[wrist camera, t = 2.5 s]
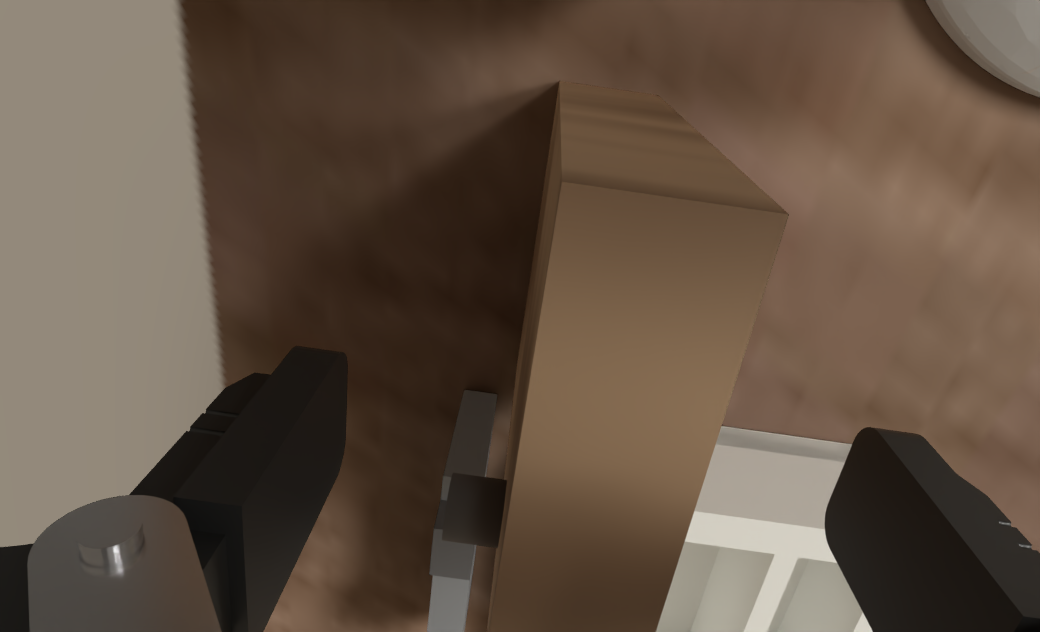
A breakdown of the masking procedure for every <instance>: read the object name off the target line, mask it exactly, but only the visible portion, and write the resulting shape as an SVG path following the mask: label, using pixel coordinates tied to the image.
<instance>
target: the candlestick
mask: <svg viewBox="0 0 1040 632" xmlns="http://www.w3.org/2000/svg"><path fill="white" fill-rule="evenodd" d="M925 1H926V3H927V4H928V6H929V8H930V10H931V12H932V13H933V15H934V16H935V18H936V19H937V21H938V22H939V24H940V25H941V26H942V28H943V29H944V30H945V32H946V33H947V34H948V35H949V37H950V38H951V39H952V40H953V41H954V42H955V43H956V44H957V46H958V47H959V48H960V49H961V50H962V51H963V52H964V53H965V54H966V55H968V56H969V57H970V58H971V59H972V60H973V61H974V62H976V63H977V64H978V65H979V66H981V67H982V68H983V69H985V70H986V71H988V72H989V73H990V74H992V75H993V76H995V77H997V78H998V79H1000V80H1002V81H1003V82H1005V83H1007V84H1009V85H1011V86H1013V87H1015V88H1017V89H1019V90H1022V91H1024V92H1026V93H1029V94H1031V95H1034V96H1037V97H1040V0H925Z"/></svg>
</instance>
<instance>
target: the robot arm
mask: <svg viewBox="0 0 1040 632" xmlns="http://www.w3.org/2000/svg"><path fill="white" fill-rule="evenodd" d="M347 374H348V364H347V357H346V354H345V353H343V352H336V351H329V350H322V349H315V348H307V347H300V346H295V347H294V348H293V349H292V350H291V351H290V352H289V353H288V354H287V356H286V357H285V358H284V359H283V361H282V362H281V363H280V364H279V366H278V367H277V368H276V369H275V371H274V372H273V373H272V374H271V375H268V374H261V373H253V374H251V375H249V376H247V377H245V378H243V379H242V380H240V381H238V382H236V383H234V384H232V385H230V386H228V387H226V388H225V389H224V390H223V391H222V392H221V393H220V394H219V395H218V397H217V398H216V399H215V400H214V401H213V402H212V403H211V404H210V405H209V407H208V408H207V409H206V413H205V414H204V413H202V414H201V415H200V417H199V418H198V419H197V420H196V421H195V422H194V423H193V425H192V426H191V427H190V431H189V432H188V431H186V432H185V433H184V434H183V436H182V437H181V438H180V439H179V440H178V441H177V442H176V444H174V446H173V447H172V448H171V449H170V450H169V451H168V452H167V453H166V454H165V456H164V457H163V458H162V459H161V460H160V461H159V462H158V463H157V465H156V466H155V467H154V468H153V469H152V470H151V471H150V472H149V473H148V474H147V476H146V477H145V478H144V479H143V480H142V481H141V482H140V484H138V486H137V487H136V488H135V489H134V490H133V491H132V492H131V493H130V495H126V496H117V497H113V498H108V499H103V500H100V501H96V502H93V503H90V504H87V505H85V506H82V507H80V508H78V509H76V510H74V511H72V512H70V513H68V514H66V515H65V516H63V517H61V518H60V519H58V520H57V521H55V522H54V523H53V524H51V525H50V526H49V527H48V528H47V529H46V530H45V531H44V532H43V533H42V534H41V535H40V536H39V537H38V538H37V540H36V541H35V543H34V544H28V545H20V546H10V547H0V632H263V631H264V629H265V627H266V625H267V623H268V621H269V618H270V616H271V614H272V612H273V610H274V608H275V606H276V604H277V602H278V600H279V597H280V595H281V593H282V591H283V589H284V587H285V585H286V583H287V581H288V579H289V577H290V574H291V572H292V570H293V568H294V566H295V564H296V562H297V560H298V558H299V556H300V554H301V551H302V549H303V547H304V545H305V543H306V541H307V539H308V537H309V535H310V533H311V531H312V528H313V526H314V524H315V522H316V520H317V518H318V516H319V514H320V512H321V510H322V507H323V505H324V503H325V501H326V499H327V497H328V495H329V493H330V491H331V489H332V487H333V484H334V482H335V480H336V478H337V476H338V473H339V470H340V467H341V463H342V459H343V454H344V448H345V440H346V410H347ZM825 535H826V540H827V543H828V546H829V548H830V550H831V552H832V554H833V556H834V558H835V560H836V562H837V564H838V565H839V567H840V569H841V571H842V573H843V575H844V577H845V579H846V581H847V583H848V585H849V587H850V589H851V590H852V592H853V594H854V596H855V598H856V600H857V602H858V604H859V606H860V608H861V610H862V612H863V613H864V615H865V617H866V619H867V621H868V623H869V625H870V627H871V629H872V631H873V632H1040V553H1039V552H1038V551H1036V550H1032V549H1031V543H1030V542H1029V541H1028V540H1027V539H1026V538H1025V537H1024V536H1023V535H1022V534H1021V532H1020V531H1019V530H1018V529H1017V528H1015V527H1011V522H1010V520H1009V519H1008V518H1007V517H1006V516H1005V515H1004V514H1003V513H1002V512H1001V511H1000V509H999V508H998V507H997V506H996V505H995V504H994V503H993V502H992V501H991V500H990V498H989V497H988V496H987V495H985V494H984V493H983V492H981V491H980V490H978V489H977V488H976V487H974V486H973V485H971V484H970V483H969V482H967V481H966V480H964V479H963V478H962V477H960V476H959V475H957V474H956V473H955V472H954V471H953V470H952V469H951V467H950V466H949V465H948V464H947V463H946V462H945V461H944V459H943V458H942V457H941V456H940V455H939V454H938V453H937V452H936V450H935V449H934V448H933V447H932V446H931V445H930V444H929V443H928V441H927V440H926V439H925V438H924V437H922V436H921V435H919V434H914V433H907V432H900V431H893V430H886V429H878V428H871V427H867V428H864V429H862V430H861V431H860V432H859V433H858V434H857V436H856V437H855V439H854V441H853V444H852V446H851V449H850V451H849V454H848V456H847V458H846V461H845V463H844V466H843V468H842V471H841V473H840V476H839V478H838V480H837V483H836V485H835V488H834V490H833V493H832V495H831V497H830V500H829V502H828V505H827V508H826V513H825Z"/></svg>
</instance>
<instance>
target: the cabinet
mask: <svg viewBox="0 0 1040 632" xmlns="http://www.w3.org/2000/svg"><path fill="white" fill-rule="evenodd" d="M496 401H497V394H492V393H485V392H478V391H471V390H464V393H463V397H462V401H461V405H460V409H459V413H458V417H457V421H456V425H455V429H454V433H453V438H452V442H451V446H450V450H449V454H448V458H447V462H446V466H445V470H444V474H443V482H442V492H441V500H440V505H439V509H438V513H437V517H436V522H435V526H434V532H433V542H432V552H431V562H430V572H429V575H433V579H432V589H431V599H430V608H429V618H428V628H427V632H464V630H465V624H466V617H467V610H468V603H469V596H470V589H471V582H472V574H473V567H474V560H475V553H476V545H471V544H464V543H457V542H450V541H442V532H443V523H444V516H445V509H446V503H447V497H448V491H449V486H450V481H451V477H452V474H453V473H459V474H467V475H474V476H481V477H486V473H487V466H488V459H489V451H490V444H491V437H492V430H493V422H494V415H495V408H496ZM851 446H852V444H846V443H839V442H832V441H825V440H817V439H810V438H803V437H796V436H789V435H782V434H775V433H768V432H761V431H754V430H747V429H740V428H733V427H725V426H721V429H720V432H719V435H718V439H717V442H716V445H715V448H714V451H713V454H712V457H711V460H710V464H709V467H708V470H707V473H706V476H705V479H704V482H703V486H702V489H701V492H700V495H699V498H698V501H697V504H696V507H695V511H694V514H693V517H692V520H691V523H690V526H689V529H688V533H687V536H686V539H685V542H684V545H683V548H682V551H681V554H680V558H679V561H678V564H677V567H676V570H675V573H674V576H673V580H672V583H671V586H670V589H669V592H668V595H667V598H666V601H665V605H664V608H663V611H662V614H661V617H660V620H659V623H658V627H657V630H656V632H873V631H872V629H871V627H870V625H869V623H868V621H867V619H866V617H865V615H864V613H863V612H862V610H861V608H860V606H859V604H858V602H857V600H856V598H855V596H854V594H853V592H852V590H851V589H850V587H849V585H848V583H847V581H846V579H845V577H844V575H843V573H842V571H841V569H840V567H839V565H838V564H837V562H836V560H835V558H834V556H833V554H832V552H831V550H830V548H829V546H828V543H827V540H826V535H825V513H826V508H827V505H828V502H829V500H830V497H831V495H832V493H833V490H834V488H835V485H836V483H837V480H838V478H839V476H840V473H841V471H842V468H843V466H844V463H845V461H846V458H847V456H848V454H849V451H850V449H851Z"/></svg>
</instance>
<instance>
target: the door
mask: <svg viewBox="0 0 1040 632" xmlns="http://www.w3.org/2000/svg"><path fill="white" fill-rule="evenodd" d="M788 216H789V214H788V213H787V212H786V211H785V210H784V209H782V208H781V207H780V206H779V205H778V204H777V203H776V202H775V201H774V200H773V199H771V198H770V197H769V196H768V195H767V194H766V193H765V192H764V191H763V190H762V189H760V188H759V187H758V186H757V185H756V184H755V183H754V182H753V181H752V180H751V179H749V178H748V177H747V176H746V175H745V174H744V173H743V172H742V171H741V170H740V169H738V168H737V167H736V166H735V165H734V164H733V163H732V162H731V161H730V160H729V159H727V158H726V157H725V156H724V155H723V154H722V153H721V152H720V151H719V150H718V149H716V148H715V147H714V146H713V145H712V144H711V143H710V142H709V141H708V140H707V139H705V138H704V137H703V136H702V135H701V134H700V133H699V132H698V131H697V130H696V129H694V128H693V127H692V126H691V125H690V124H689V123H688V122H687V121H686V120H685V119H683V118H682V117H681V116H680V115H679V114H678V113H677V112H676V111H675V110H674V109H672V108H671V107H670V106H669V105H668V104H667V103H666V102H665V101H664V100H663V99H661V98H660V97H659V96H658V95H652V94H646V93H639V92H632V91H625V90H618V89H611V88H604V87H598V86H591V85H584V84H577V83H570V82H563V81H560V82H559V88H558V95H557V102H556V108H555V115H554V122H553V128H552V135H551V142H550V148H549V155H548V162H547V168H546V175H545V182H544V188H543V195H542V202H541V208H540V215H539V222H538V228H537V235H536V242H535V248H534V255H533V262H532V268H531V275H530V282H529V288H528V295H527V302H526V308H525V315H524V322H523V328H522V335H521V342H520V348H519V355H518V362H517V369H516V378H515V386H514V395H513V404H512V413H511V422H510V431H509V439H508V448H507V457H506V466H505V475H504V480H502V479H495V478H488V477H481V476H474V475H467V474H459V473H453V474H452V477H451V481H450V486H449V491H448V497H447V503H446V509H445V516H444V523H443V532H442V541H450V542H457V543H464V544H471V545H478V546H486V547H493V548H496V554H495V563H494V572H493V581H492V589H491V598H490V607H489V616H488V625H487V632H656V630H657V627H658V623H659V620H660V617H661V614H662V611H663V608H664V605H665V601H666V598H667V595H668V592H669V589H670V586H671V583H672V580H673V576H674V573H675V570H676V567H677V564H678V561H679V558H680V554H681V551H682V548H683V545H684V542H685V539H686V536H687V533H688V529H689V526H690V523H691V520H692V517H693V514H694V511H695V507H696V504H697V501H698V498H699V495H700V492H701V489H702V486H703V482H704V479H705V476H706V473H707V470H708V467H709V464H710V460H711V457H712V454H713V451H714V448H715V445H716V442H717V439H718V435H719V432H720V429H721V426H722V423H723V420H724V417H725V413H726V410H727V407H728V404H729V401H730V398H731V395H732V392H733V388H734V385H735V382H736V379H737V376H738V373H739V370H740V366H741V363H742V360H743V357H744V354H745V351H746V348H747V345H748V341H749V338H750V335H751V332H752V329H753V326H754V323H755V319H756V316H757V313H758V310H759V307H760V304H761V301H762V298H763V294H764V291H765V288H766V285H767V282H768V279H769V276H770V273H771V269H772V266H773V263H774V260H775V257H776V254H777V251H778V247H779V244H780V241H781V238H782V235H783V232H784V229H785V226H786V222H787V219H788Z"/></svg>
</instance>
